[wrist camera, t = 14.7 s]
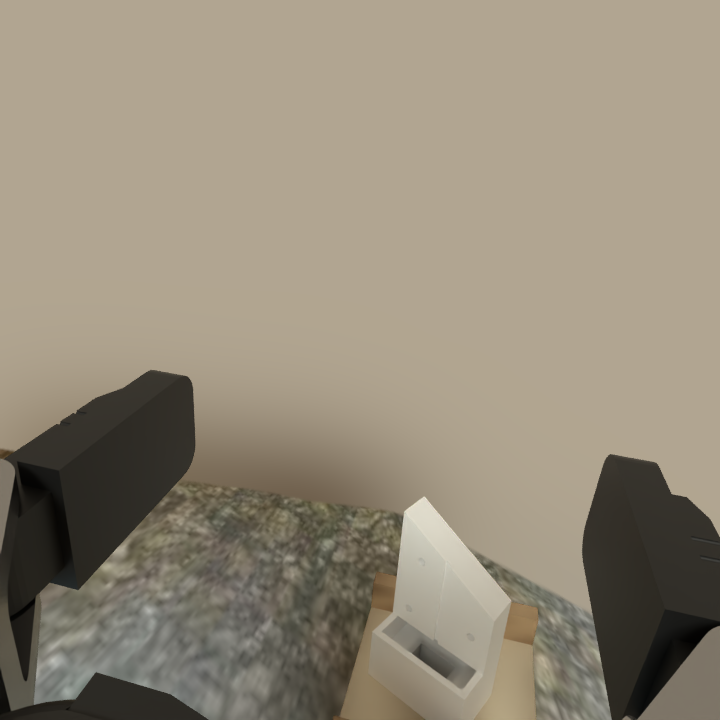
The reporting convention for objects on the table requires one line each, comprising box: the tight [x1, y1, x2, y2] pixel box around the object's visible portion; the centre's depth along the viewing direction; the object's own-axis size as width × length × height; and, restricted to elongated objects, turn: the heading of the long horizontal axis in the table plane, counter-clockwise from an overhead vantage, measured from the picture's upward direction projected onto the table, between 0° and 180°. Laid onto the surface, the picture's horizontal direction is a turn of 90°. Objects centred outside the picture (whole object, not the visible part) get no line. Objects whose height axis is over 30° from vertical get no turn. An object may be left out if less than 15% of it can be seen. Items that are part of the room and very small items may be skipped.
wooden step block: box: [333, 572, 538, 720], centre depth 31 cm, size 10×11×6 cm
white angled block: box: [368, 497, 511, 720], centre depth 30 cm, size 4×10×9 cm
